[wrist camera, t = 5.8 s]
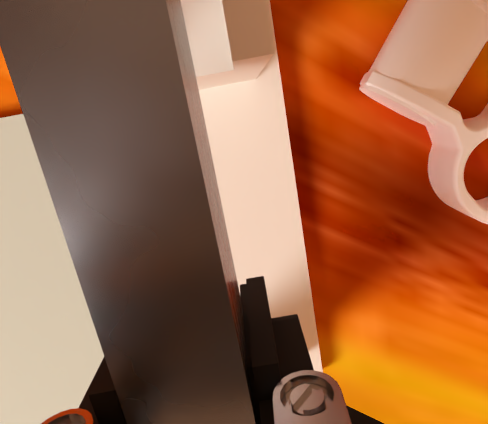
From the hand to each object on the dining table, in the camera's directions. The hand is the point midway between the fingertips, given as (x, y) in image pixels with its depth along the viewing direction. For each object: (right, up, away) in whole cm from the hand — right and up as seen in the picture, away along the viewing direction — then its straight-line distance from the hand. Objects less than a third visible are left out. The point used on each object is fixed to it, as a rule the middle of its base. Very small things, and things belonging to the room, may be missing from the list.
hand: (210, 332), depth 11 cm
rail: (0, -1, -2) cm, 2 cm away
